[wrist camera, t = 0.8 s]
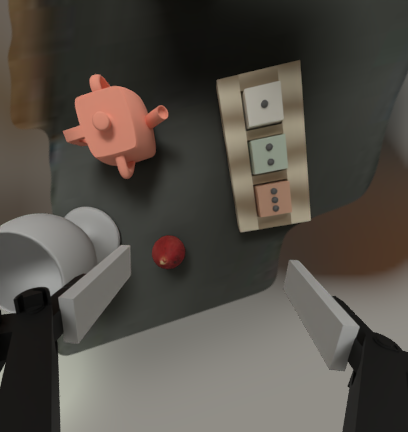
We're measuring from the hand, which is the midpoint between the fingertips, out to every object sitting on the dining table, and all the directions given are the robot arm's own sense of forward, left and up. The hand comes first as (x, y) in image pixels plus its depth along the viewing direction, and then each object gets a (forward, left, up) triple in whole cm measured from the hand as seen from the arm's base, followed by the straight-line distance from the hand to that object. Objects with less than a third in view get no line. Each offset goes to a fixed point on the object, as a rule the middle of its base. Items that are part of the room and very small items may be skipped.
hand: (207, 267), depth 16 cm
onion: (+9, -5, -21) cm, 23 cm away
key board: (-12, +5, -21) cm, 25 cm away
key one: (-18, +2, -19) cm, 27 cm away
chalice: (+13, -21, -21) cm, 32 cm away
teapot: (-8, -17, -21) cm, 28 cm away
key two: (-12, +5, -19) cm, 23 cm away
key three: (-6, +9, -19) cm, 22 cm away
